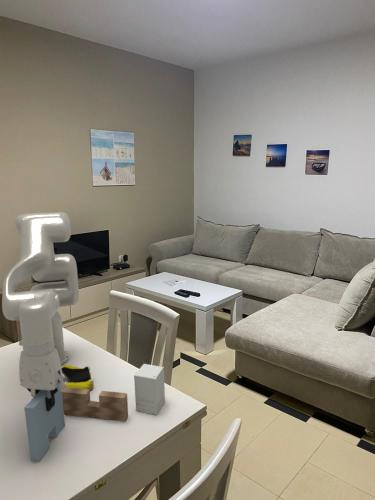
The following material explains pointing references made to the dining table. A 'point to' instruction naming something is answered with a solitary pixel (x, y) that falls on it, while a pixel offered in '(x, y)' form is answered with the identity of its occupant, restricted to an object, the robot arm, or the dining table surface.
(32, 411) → the slate slotted plate
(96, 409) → the walnut slotted plate
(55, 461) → the dining table surface
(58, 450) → the dining table surface
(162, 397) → the supplement box
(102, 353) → the dining table surface
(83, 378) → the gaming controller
